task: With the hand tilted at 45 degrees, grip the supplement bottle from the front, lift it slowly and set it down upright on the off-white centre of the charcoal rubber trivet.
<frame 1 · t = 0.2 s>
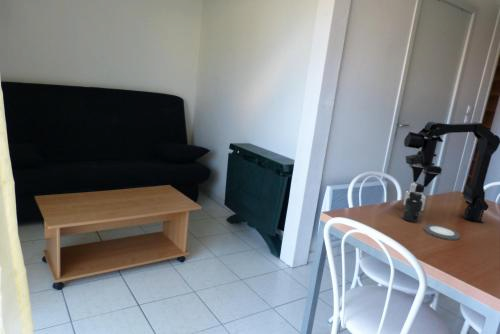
hand: (419, 184, 164), 14 cm above the table, tool pointing down, fingers open, 9 cm apart
trivet: (441, 233, 146), on the table
supplement bottle: (410, 220, 159), on the table
medicine bottle: (412, 208, 177), on the table
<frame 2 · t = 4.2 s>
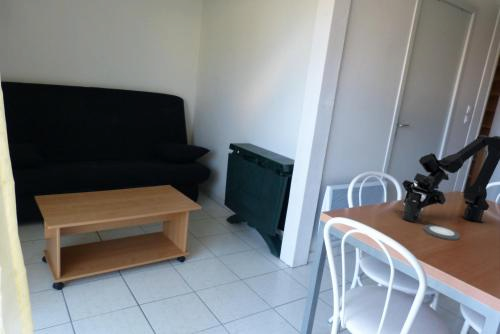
hand: (411, 205, 157), 7 cm above the table, tool tilted 45°, fingers closed on supplement bottle, 7 cm apart
supplement bottle: (410, 220, 159), on the table, touching gripper
everything else where it was.
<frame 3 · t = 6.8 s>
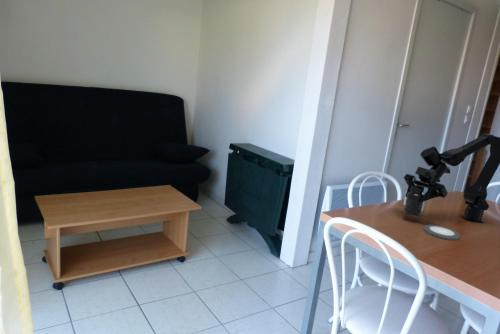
hand: (412, 199, 156), 9 cm above the table, tool tilted 45°, fingers closed on supplement bottle, 7 cm apart
supplement bottle: (411, 213, 158), point 3 cm above the table, touching gripper
everything else where it was.
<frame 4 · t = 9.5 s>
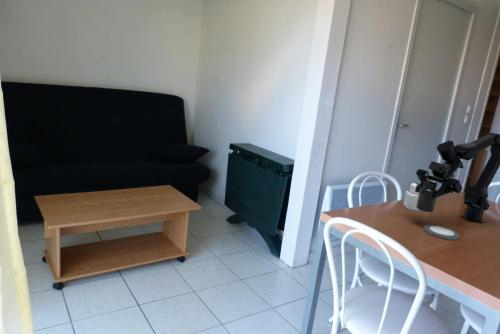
hand: (425, 194, 151), 13 cm above the table, tool tilted 45°, fingers closed on supplement bottle, 7 cm apart
supplement bottle: (424, 210, 153), point 6 cm above the table, touching gripper
everything else where it was.
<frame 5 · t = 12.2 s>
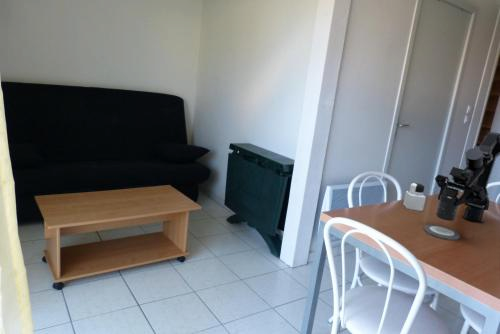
hand: (446, 202, 143), 13 cm above the table, tool tilted 45°, fingers closed on supplement bottle, 7 cm apart
supplement bottle: (444, 218, 145), point 6 cm above the table, touching gripper
everything else where it was.
when the fingers open (8 cm above the table, at t = 14.8 s): supplement bottle stays where it is, resting on trivet.
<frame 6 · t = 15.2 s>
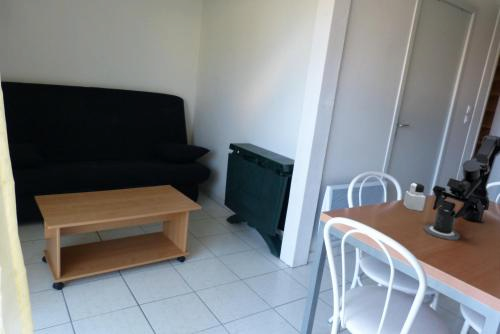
hand: (443, 213, 144), 9 cm above the table, tool tilted 45°, fingers open, 9 cm apart
supplement bottle: (441, 231, 146), point 1 cm above the table, touching trivet
everything else where it was.
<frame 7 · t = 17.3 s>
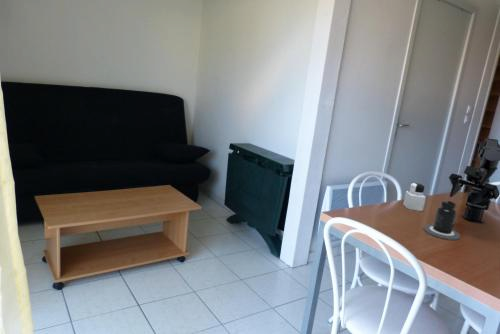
hand: (460, 200, 147), 13 cm above the table, tool tilted 45°, fingers open, 9 cm apart
nothing on the table moved.
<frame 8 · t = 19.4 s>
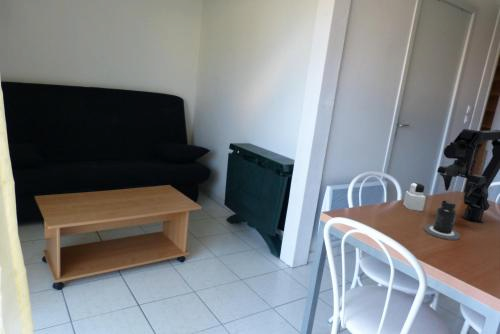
hand: (456, 193, 159), 13 cm above the table, tool pointing down, fingers open, 9 cm apart
nothing on the table moved.
at the end: supplement bottle 0.1 cm off-centre on the trivet, point 0.9 cm above the trivet's base; supplement bottle tilted 0°; the gripper is holding nothing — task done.
